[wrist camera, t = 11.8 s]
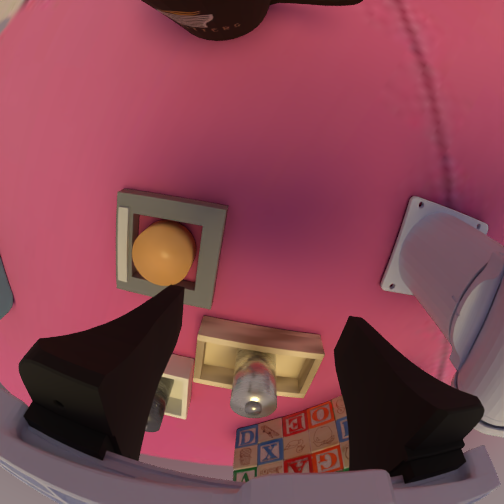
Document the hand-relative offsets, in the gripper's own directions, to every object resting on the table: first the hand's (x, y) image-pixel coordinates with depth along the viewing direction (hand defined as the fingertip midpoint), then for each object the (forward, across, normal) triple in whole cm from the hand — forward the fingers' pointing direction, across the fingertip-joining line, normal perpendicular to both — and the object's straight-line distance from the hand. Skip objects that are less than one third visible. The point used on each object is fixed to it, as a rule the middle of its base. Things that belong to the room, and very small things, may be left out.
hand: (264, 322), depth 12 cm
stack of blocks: (+10, -12, +20) cm, 25 cm away
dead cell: (+9, +8, +16) cm, 20 cm away
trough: (+10, -2, +10) cm, 15 cm away
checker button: (+10, +7, +2) cm, 12 cm away
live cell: (+9, -2, +10) cm, 14 cm away
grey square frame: (+10, +7, +2) cm, 12 cm away
